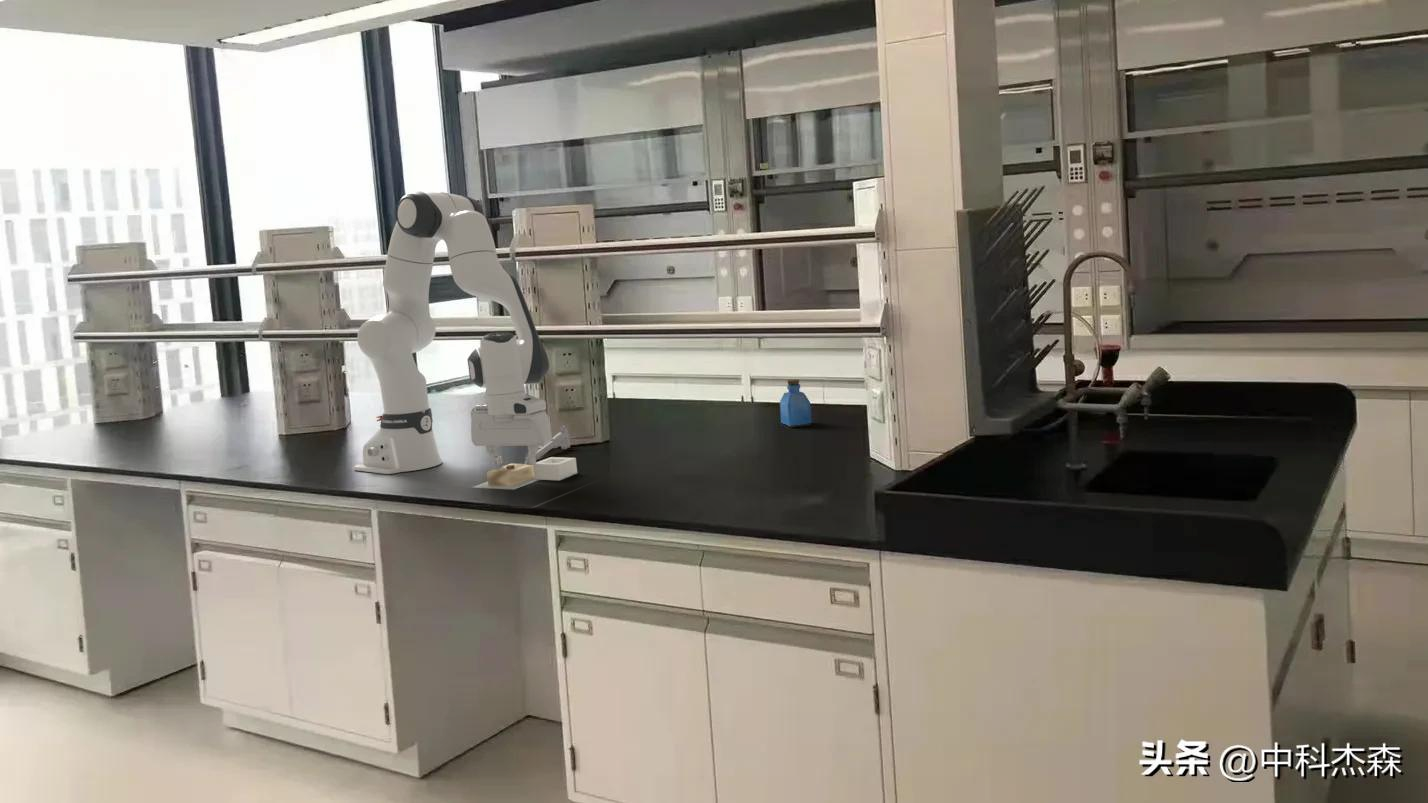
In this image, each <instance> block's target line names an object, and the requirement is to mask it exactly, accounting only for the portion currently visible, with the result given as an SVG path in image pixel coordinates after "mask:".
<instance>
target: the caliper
mask: <svg viewBox="0 0 1428 803" xmlns="http://www.w3.org/2000/svg"><path fill="white" fill-rule="evenodd" d="M558 447H560V448H561V449H562V450H567V449H569V448H571V441H570V435H569V431H568V429H567V428H566V425H561V427H559V432H558V433H557V434H555V435H554V436H553V437H552V439H551V441H550V442H549V443H548V444H545V445H542V446H541V447H540V448H539V449H538V452H537V454H536V456H535V458H536V461H537V460H538V459H540V458H541V457H542V456H544V455H545V454H547V453H548V452H549V451H550V450H552V449H557V448H558ZM524 464H526V461H525V462H524Z"/></svg>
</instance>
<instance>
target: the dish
mask: <svg viewBox="0 0 1428 803" xmlns="http://www.w3.org/2000/svg"><path fill="white" fill-rule="evenodd" d="M577 466H578V465H577V458H576V457H562V456H561V457H559V456H558V457H556V456H551V457H547V458H544V459H542V460H539V461H536V464H534V465H533V470H534V479H540V480H539V481H545V480H546V481H562V480H564V479H568V478H569V477H572V476H574V475H577V474H578V468H577Z"/></svg>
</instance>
